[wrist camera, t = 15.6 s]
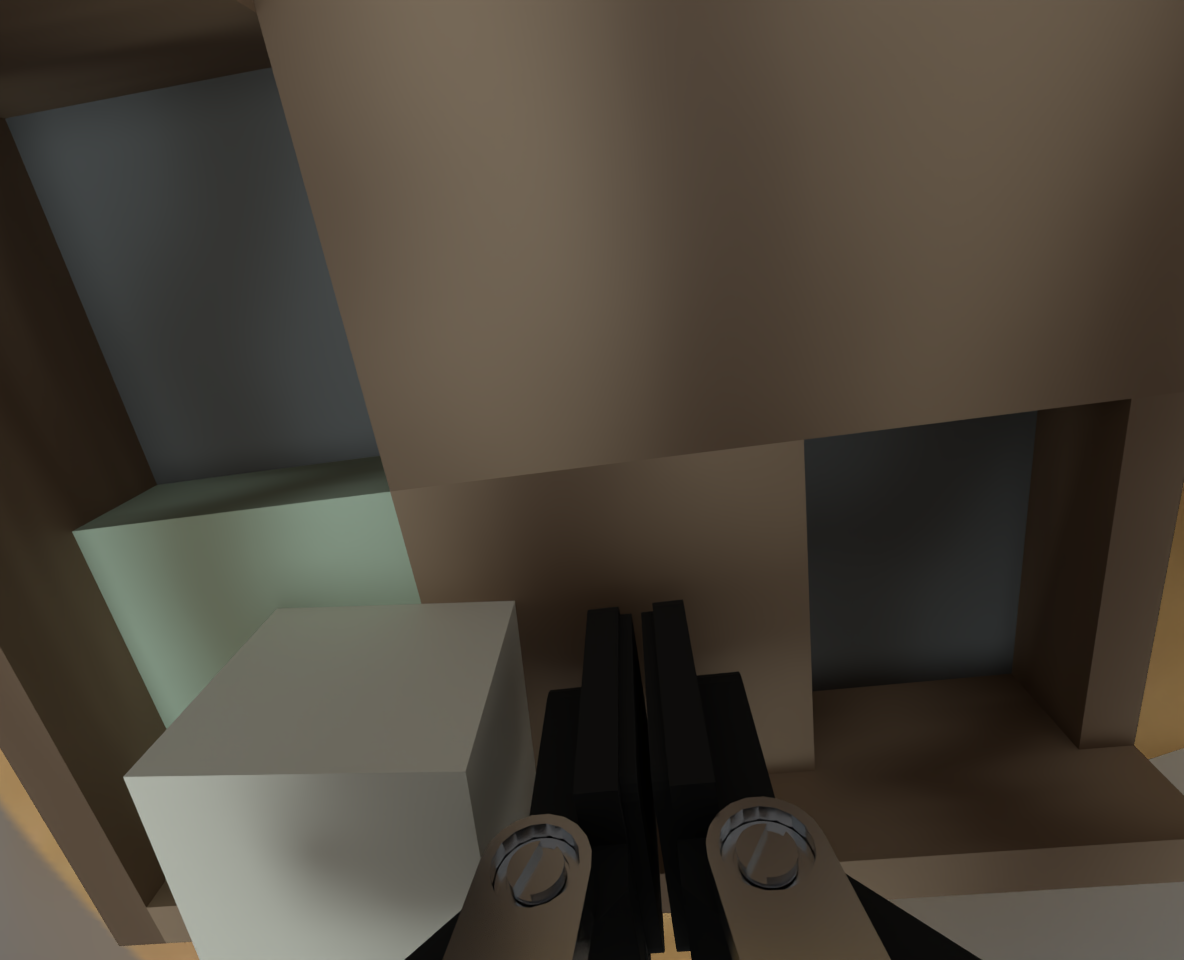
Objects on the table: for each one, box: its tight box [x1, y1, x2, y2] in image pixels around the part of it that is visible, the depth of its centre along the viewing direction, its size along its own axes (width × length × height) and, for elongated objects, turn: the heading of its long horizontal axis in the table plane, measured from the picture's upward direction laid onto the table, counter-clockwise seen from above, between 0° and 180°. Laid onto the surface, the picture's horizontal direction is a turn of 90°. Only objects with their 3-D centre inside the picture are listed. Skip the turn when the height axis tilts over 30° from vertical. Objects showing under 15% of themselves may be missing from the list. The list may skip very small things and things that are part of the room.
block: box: [123, 601, 536, 960], centre depth 11 cm, size 4×4×4 cm
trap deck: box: [0, 0, 1184, 946], centre depth 11 cm, size 20×16×4 cm
